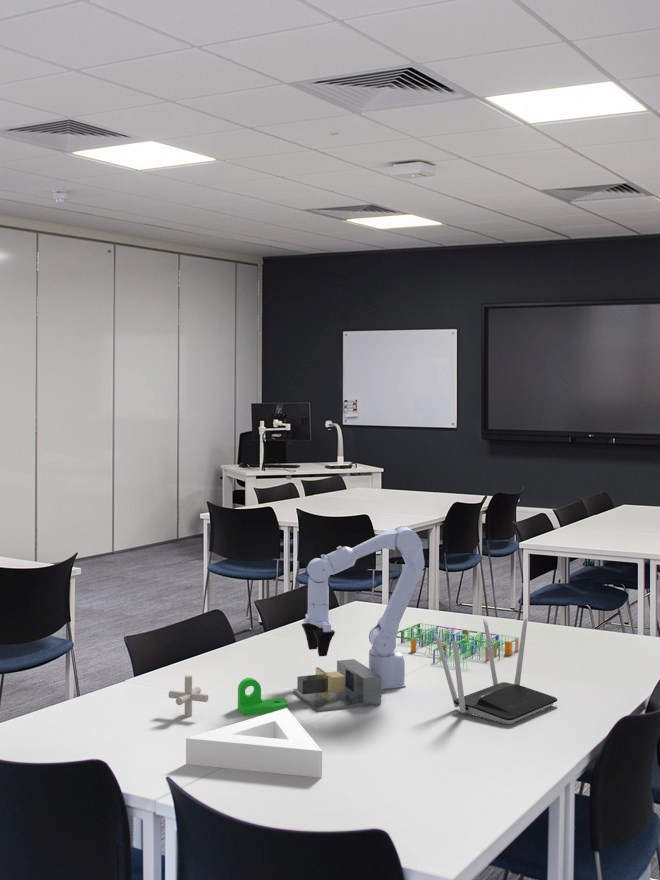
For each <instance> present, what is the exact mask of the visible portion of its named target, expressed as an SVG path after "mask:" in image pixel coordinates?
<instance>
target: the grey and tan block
mask: <svg viewBox="0 0 660 880" xmlns="http://www.w3.org/2000/svg"><path fill="white" fill-rule="evenodd" d="M296 678H297V683H296V684H297V685H296V686H297V687H296V689H297V690H298V691H299V692H300V693H301V694H303V695H304V694H313V693H320V694H321V695H323V696H324V697H325V698H326V699H328V700H329V699H331V693H335V692H344V689H345V676H343V675H342V674H341V673H339V672H338V671H337V670H336V671H327V672H326V671H324V670H323V669H322V668H320V667H319V666H318V667H317V666H316V667H315V674H311V675H301V676H297V677H296Z"/></svg>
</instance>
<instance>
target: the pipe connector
mask: <svg viewBox="0 0 660 880" xmlns="http://www.w3.org/2000/svg"><path fill="white" fill-rule="evenodd" d="M201 692H202V690H201V687H200V686H196V687H194V688H193V675H191V674H190V675H189V674H186V675H184V691H179V690H177V691H176V690H169V692H168V698H169V699H175V703H176V705H177V706H182V705H183V704H184V717H185V718H190V717H192V716H193V701H194V702H199V703H200V702H202V703H208V701H209V694H203V693H201Z"/></svg>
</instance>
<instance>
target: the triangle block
mask: <svg viewBox="0 0 660 880" xmlns="http://www.w3.org/2000/svg"><path fill="white" fill-rule="evenodd" d="M185 764H186V765H193V766H203V767H210V768H211V767H213V768H219V769H220V768H223V769H230V770H231V769H233V770H243V771H253V772H261V773H271V774H280V775H282V774H283V775H290V776H291V775H292V776H303V777H312V778H323V750H322V749H321V748H320V746H318V744H317V743H316V741H315V740H314V739H313V738H312V737H311V736H310V734H309V733H308V732H307V731H306V729H305V728H304V727H303V726H302V725H301V723H300V722H299V721H298V720H297V718H296V717H295V716H294V715H293V713H292V712H291V711H290V710H289V708H288V707H287V708H285V709H282V710H278V711H275V712H272V713H264V714H261V715H259V716H256V717H252V718H249V719H246V720H242V721H239V722H236V723H232V724H229V725H226V726H221V727H219V728H216V729H212V730H209V731H205V732H202V733H199V734H196V735H192V736H189V737H185Z"/></svg>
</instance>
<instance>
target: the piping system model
mask: <svg viewBox="0 0 660 880" xmlns="http://www.w3.org/2000/svg"><path fill="white" fill-rule="evenodd" d="M426 625H427V628H426ZM429 626H431V627H430V628H429ZM423 628H424V629H423ZM439 628H440V629H439ZM415 630H416V631H415ZM414 631H415V632H414ZM456 631H457V632H456ZM435 632H436V634H437V635H438V636H439V638H440V639H441V644H442V648H443V651H444V654H445V658H446V661H449V662H452V661H453V666H452V667H454V666H455V660H454V656H452V654H454V650H453V648H452V647H453V641H452V640H455V641H456V643H457V645H458V653H459V655H461V656H462V659H463V660H462V664H463V665H462V668H463V669H464V668H467V665H466V666H465V664H466V662H464V661H465V659H467V657H469V659H473V658H474V657H476V655H477V660H481V661H486V662H487V661H488V660H489V654H488V647H487V641H486V635H485V631H484V632H482V631H479V632H478V631H477V630H470V629H464V628H463V629H462V628H455V627H447V626H443V625H434V624H428V623H421V622H418V623H417V624H414V625H411V626H409V627H406V628H404V629H401V630H398V634H399V633H400V636H398V635H397V637H396V639H400V644H404V645H405V644H406V642H407V645H409V641H410V652H411V653H417V646H418V647H421V648H423V647H426V645H428V647H427V650H428V655H430V656H432V657H433V658H432V660H433V661H432V663H433V664H435V663H436V664H438V663H440V665H442V660H441V657H440V658H439V656H440V654H439V650H438V646H437V647H435V648H434V649H432V648H433V647H432V645H433V644H434V645H437V643H436V639H435V635H434V633H435ZM406 633H407V635H406ZM469 633H473V634H474V635H471V634H469ZM489 635H490V640H491V646H492V652H493V658H495V657H496V656H497V654H498V659H501V654H502V655H503V653H504V655H506V656H511V655H512V654H514V653H516V652H519V647H520V642H519V641H520V639H519V636H514V639H511V641H510V639H506V638H513V636H511V635H506V634H505V635H504V634H496V633H492V632H489ZM500 637H504V640H502V639H500ZM417 643H418V644H417ZM503 645H504V646H503ZM513 645H514V647H513ZM447 646H448V650H447ZM503 647H504V648H503ZM481 648H482V650H484V653H482V656H484V658H481ZM513 648H514V651H513ZM503 650H504V651H503ZM432 651H433V653H432ZM501 651H502V652H501ZM418 653H420V654H422V652H419V651H418ZM424 654H425V655H427V652H425V653H424ZM451 656H452V657H453V660H452V659H449V658H447V657H451ZM438 659H439V661H438ZM459 661H461V658H459ZM489 661H490V660H489ZM454 668H455V667H454Z"/></svg>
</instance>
